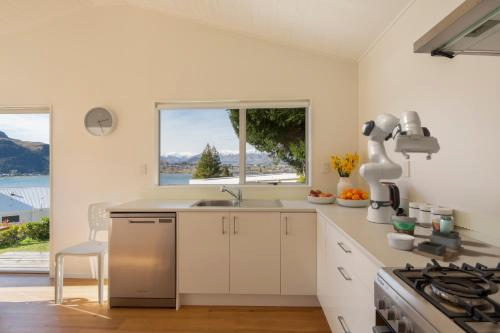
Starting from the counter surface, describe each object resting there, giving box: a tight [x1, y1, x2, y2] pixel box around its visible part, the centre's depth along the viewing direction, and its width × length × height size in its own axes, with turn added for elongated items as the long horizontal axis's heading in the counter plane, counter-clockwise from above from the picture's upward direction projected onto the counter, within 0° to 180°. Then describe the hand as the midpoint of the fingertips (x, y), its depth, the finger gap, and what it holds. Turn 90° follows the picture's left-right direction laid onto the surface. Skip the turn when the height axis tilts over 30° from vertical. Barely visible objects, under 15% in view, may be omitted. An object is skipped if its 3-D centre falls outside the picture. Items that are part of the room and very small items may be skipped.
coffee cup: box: [431, 214, 455, 232], centre depth 129 cm, size 9×9×12 cm
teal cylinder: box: [440, 214, 452, 234], centre depth 116 cm, size 4×4×9 cm
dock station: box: [412, 229, 465, 262], centre depth 112 cm, size 23×11×8 cm, turn 123°
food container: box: [392, 215, 418, 237], centre depth 138 cm, size 12×6×10 cm, turn 71°
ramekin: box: [386, 232, 416, 251], centre depth 118 cm, size 11×11×5 cm
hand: (418, 159), depth 125 cm, fingers open, 8 cm apart
